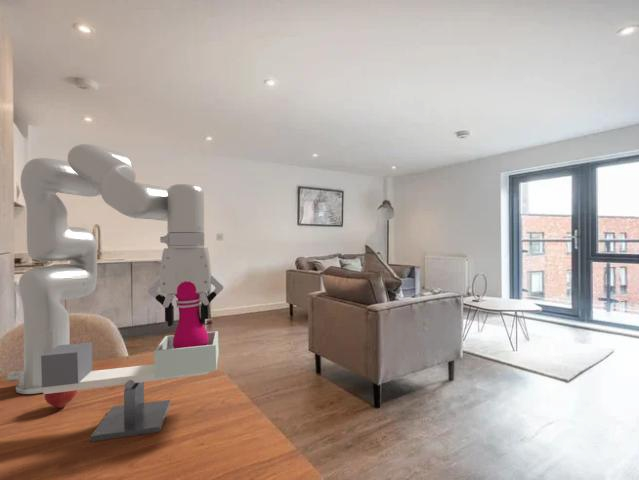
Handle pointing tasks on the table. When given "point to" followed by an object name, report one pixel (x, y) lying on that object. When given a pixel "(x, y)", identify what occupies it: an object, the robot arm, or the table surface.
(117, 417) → the stand
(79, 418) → the table surface
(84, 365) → the beam
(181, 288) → the pepper mill
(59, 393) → the onion
